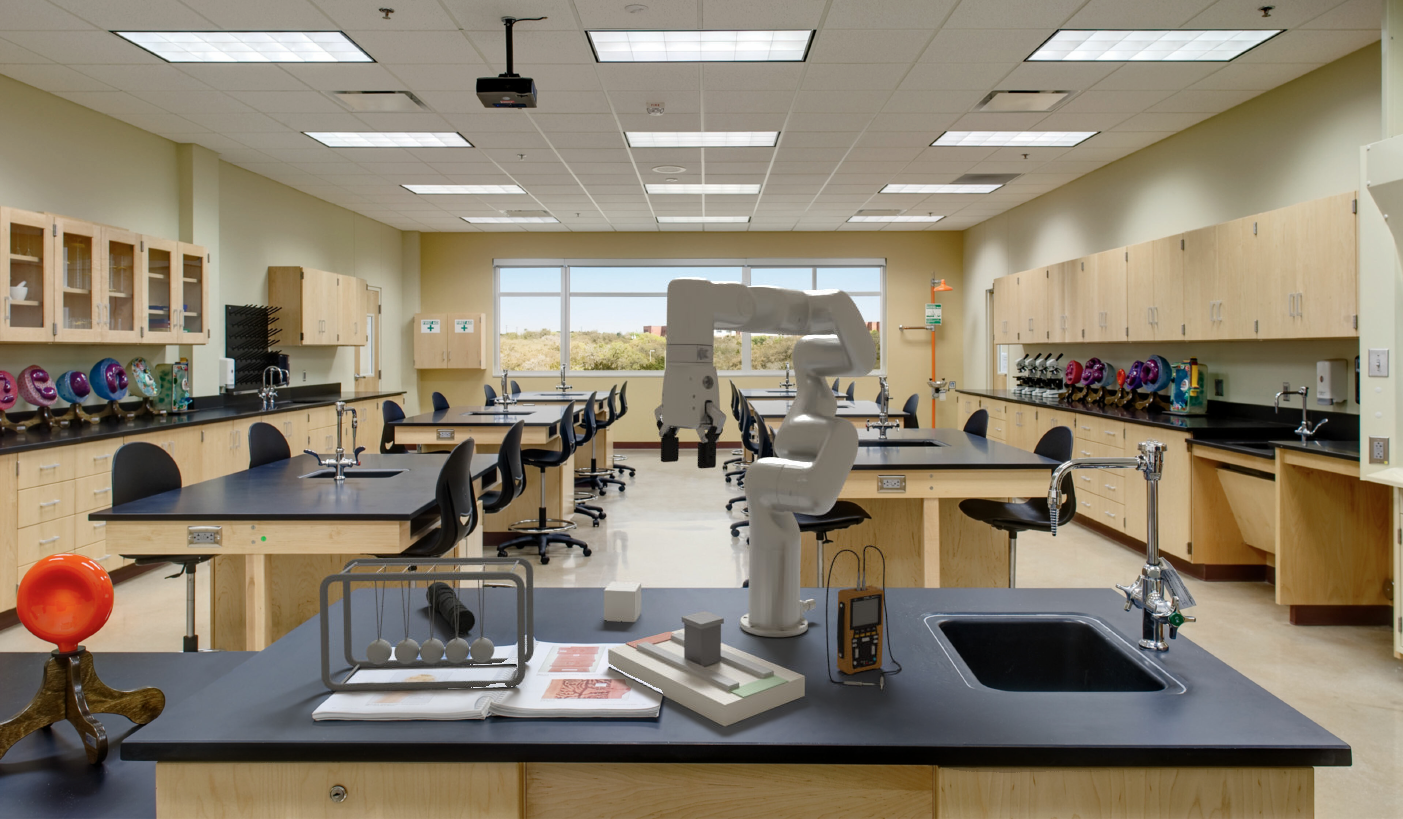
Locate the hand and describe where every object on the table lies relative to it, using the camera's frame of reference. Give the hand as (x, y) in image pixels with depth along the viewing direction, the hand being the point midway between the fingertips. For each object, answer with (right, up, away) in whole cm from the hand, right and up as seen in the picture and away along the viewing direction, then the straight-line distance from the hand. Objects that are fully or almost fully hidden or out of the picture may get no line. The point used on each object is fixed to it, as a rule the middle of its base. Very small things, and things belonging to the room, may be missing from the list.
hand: (687, 464), depth 132 cm
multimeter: (+29, -34, -1) cm, 45 cm away
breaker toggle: (+2, -30, -4) cm, 30 cm away
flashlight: (-46, -32, +26) cm, 61 cm away
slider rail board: (+2, -33, -4) cm, 34 cm away
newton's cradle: (-40, -33, -3) cm, 52 cm away
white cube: (-13, -32, +28) cm, 44 cm away
